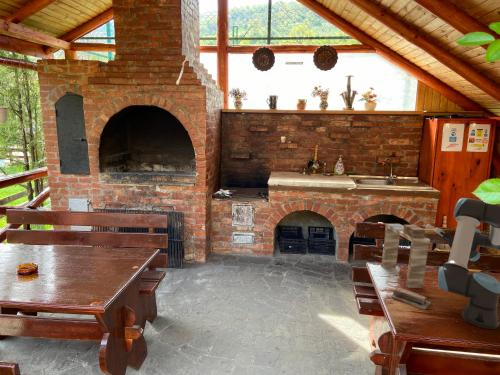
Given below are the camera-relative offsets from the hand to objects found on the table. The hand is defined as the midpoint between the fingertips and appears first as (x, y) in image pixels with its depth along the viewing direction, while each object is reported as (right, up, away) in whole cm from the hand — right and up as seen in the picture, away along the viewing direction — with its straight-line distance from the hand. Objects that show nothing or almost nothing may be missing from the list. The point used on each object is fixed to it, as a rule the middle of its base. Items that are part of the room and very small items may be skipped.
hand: (431, 227), depth 209 cm
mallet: (-4, -5, 0) cm, 6 cm away
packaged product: (-21, -39, -19) cm, 48 cm away
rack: (-13, -33, +12) cm, 37 cm away
